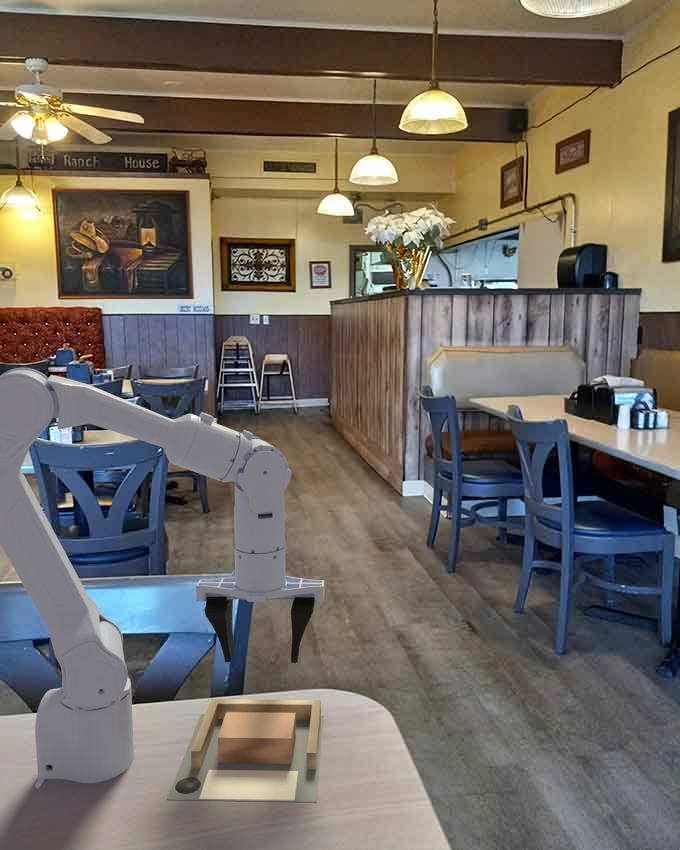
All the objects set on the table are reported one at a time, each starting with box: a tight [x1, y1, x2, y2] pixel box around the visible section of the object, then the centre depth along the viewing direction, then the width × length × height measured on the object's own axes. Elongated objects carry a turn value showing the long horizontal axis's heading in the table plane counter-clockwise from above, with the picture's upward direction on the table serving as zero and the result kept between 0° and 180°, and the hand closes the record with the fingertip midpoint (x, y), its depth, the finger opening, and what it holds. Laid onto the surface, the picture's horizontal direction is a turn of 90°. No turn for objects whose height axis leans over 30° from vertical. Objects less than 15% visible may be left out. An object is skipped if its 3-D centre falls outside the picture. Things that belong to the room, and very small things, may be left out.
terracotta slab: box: [218, 712, 296, 764], centre depth 78 cm, size 8×5×3 cm, turn 89°
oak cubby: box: [191, 698, 322, 770], centre depth 80 cm, size 13×10×2 cm
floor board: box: [166, 713, 324, 803], centre depth 78 cm, size 15×16×1 cm
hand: (262, 658), depth 81 cm, fingers open, 7 cm apart
